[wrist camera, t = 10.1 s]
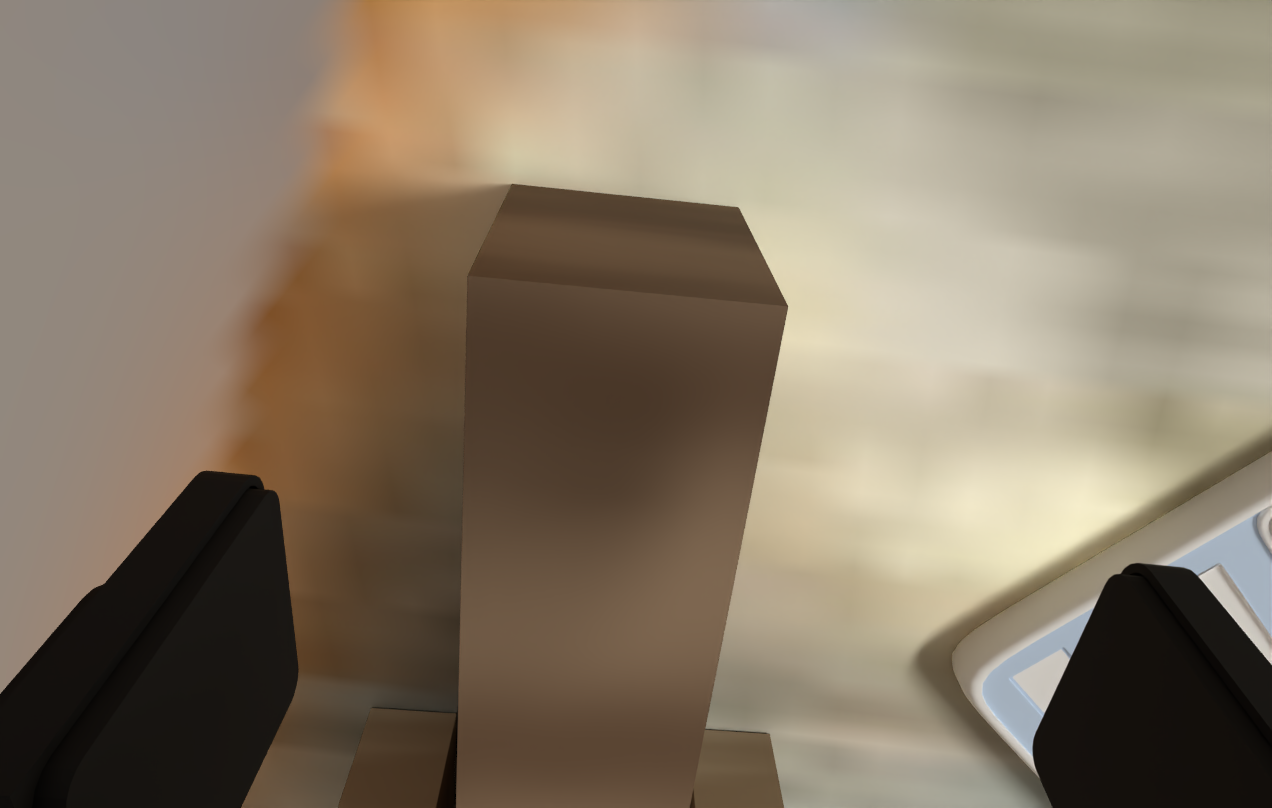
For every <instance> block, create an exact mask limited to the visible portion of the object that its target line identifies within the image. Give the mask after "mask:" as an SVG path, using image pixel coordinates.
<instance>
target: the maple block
mask: <svg viewBox="0 0 1272 808" xmlns="http://www.w3.org/2000/svg"><path fill="white" fill-rule="evenodd" d="M455 756H456V713H440V712H425V711H410V710H394V709H379V708H371V710H370V713H369V716H368V719H367V722H366V725H365V728H364V731H363V734H362V737H361V740H360V743H359V746H358V749H357V752H356V755H355V758H354V761H353V764H352V767H351V770H350V773H349V776H348V779H347V782H346V784H345V787H344V790H343V793H342V796H341V799H340V802H339V805H338V808H456V802H455ZM690 808H784V805H783V800H782V795H781V790H780V785H779V779H778V774H777V769H776V764H775V759H774V754H773V749H772V744H771V739H770V734H761V733H746V732H731V731H715V730H705V732H704V737H703V742H702V747H701V752H700V757H699V762H698V768H697V773H696V778H695V783H694V788H693V793H692V798H691V803H690Z"/></svg>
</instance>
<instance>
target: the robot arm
mask: <svg viewBox="0 0 1272 808" xmlns="http://www.w3.org/2000/svg"><path fill="white" fill-rule="evenodd" d="M297 680H298V660H297V651H296V642H295V633H294V625H293V616H292V607H291V599H290V590H289V581H288V573H287V564H286V555H285V546H284V538H283V529H282V520H281V512H280V503H279V498H278V495H277V493H276V492H275V491H273V490H264V486H263V483H262V481H261V479H260V478H259V477H257V476H255V475H245V474H235V473H225V472H215V471H203V472H200V473H199V474H198V475H197V476H195V477H194V479H193V480H192V481H191V482H190V483H189V484H188V486H187V487H186V488H185V489H184V490H183V492H182V493H181V494H180V495H179V496H178V497H177V499H176V500H175V501H174V502H173V503H172V505H171V506H170V507H169V508H168V509H167V510H166V512H165V513H164V514H163V515H162V516H161V518H160V519H159V520H158V521H157V522H156V523H155V525H154V526H153V527H152V528H151V529H150V531H149V532H148V533H147V534H146V535H145V537H144V538H143V539H142V540H141V541H140V542H139V544H138V545H137V546H136V547H135V548H134V549H133V551H132V552H131V553H130V554H129V555H128V557H127V558H126V559H125V560H124V561H123V563H122V564H121V565H120V566H119V567H118V568H117V570H116V571H115V572H114V573H113V574H112V575H111V577H110V578H109V579H108V580H107V581H106V583H105V584H103V585H101V586H98V587H96V588H94V589H93V590H91V591H90V592H89V593H88V594H87V595H86V596H85V597H84V598H83V599H82V600H81V601H80V602H79V603H78V604H77V606H76V607H75V608H74V609H73V610H72V611H71V612H70V614H69V615H68V616H67V617H66V618H65V619H64V621H63V622H62V623H61V624H60V625H59V627H57V629H56V630H55V631H54V632H53V633H52V634H51V636H50V637H49V638H48V639H47V640H46V641H45V643H44V644H43V645H42V646H41V647H40V648H39V650H38V651H37V652H36V653H35V654H34V655H33V657H32V658H31V659H30V660H29V661H28V662H27V664H26V665H25V666H24V667H23V668H22V669H21V671H20V672H19V673H18V674H17V675H16V676H15V678H14V679H13V680H12V681H11V682H10V683H9V685H8V686H7V687H6V688H5V689H4V690H3V691H2V693H1V694H0V808H241V806H242V804H243V802H244V800H245V798H246V796H247V794H248V792H249V789H250V787H251V785H252V783H253V781H254V779H255V777H256V775H257V773H258V771H259V768H260V766H261V764H262V762H263V760H264V758H265V756H266V754H267V752H268V750H269V747H270V745H271V743H272V741H273V739H274V737H275V735H276V733H277V731H278V729H279V726H280V724H281V722H282V720H283V718H284V716H285V714H286V712H287V710H288V708H289V705H290V703H291V701H292V699H293V696H294V693H295V689H296V685H297ZM1032 753H1033V761H1034V765H1035V768H1036V771H1037V773H1038V775H1039V778H1040V780H1041V782H1042V784H1043V787H1044V789H1045V791H1046V793H1047V796H1048V798H1049V800H1050V802H1051V805H1052V807H1053V808H1272V665H1271V663H1270V662H1269V661H1268V660H1267V659H1266V657H1265V656H1264V655H1263V654H1262V653H1261V651H1260V650H1259V649H1258V648H1257V647H1256V645H1255V644H1254V643H1253V642H1252V641H1251V639H1250V638H1249V637H1248V636H1247V635H1246V633H1245V632H1244V631H1243V630H1242V628H1241V627H1240V626H1239V625H1238V624H1237V622H1236V621H1235V620H1234V619H1233V618H1232V616H1231V615H1230V614H1229V613H1228V612H1227V610H1226V609H1225V608H1224V607H1223V606H1222V604H1221V603H1220V602H1219V601H1218V599H1217V598H1216V597H1215V596H1214V595H1213V593H1212V592H1211V591H1210V590H1209V589H1208V587H1207V586H1206V585H1205V584H1204V583H1203V581H1202V580H1201V579H1200V578H1199V577H1198V576H1197V575H1196V574H1195V573H1194V572H1193V571H1192V570H1190V569H1187V568H1184V567H1174V566H1164V565H1154V564H1144V563H1133V564H1130V565H1128V566H1127V567H1125V568H1124V569H1123V571H1122V572H1121V574H1115V575H1113V576H1111V577H1110V578H1109V579H1108V580H1107V582H1106V584H1105V585H1104V588H1103V590H1102V592H1101V594H1100V596H1099V598H1098V600H1097V603H1096V605H1095V607H1094V609H1093V611H1092V613H1091V615H1090V618H1089V620H1088V622H1087V624H1086V626H1085V628H1084V630H1083V632H1082V635H1081V637H1080V639H1079V641H1078V643H1077V645H1076V647H1075V650H1074V652H1073V654H1072V656H1071V658H1070V660H1069V662H1068V664H1067V667H1066V669H1065V671H1064V673H1063V675H1062V677H1061V679H1060V682H1059V684H1058V686H1057V688H1056V690H1055V692H1054V694H1053V697H1052V699H1051V701H1050V703H1049V705H1048V707H1047V709H1046V711H1045V714H1044V716H1043V718H1042V720H1041V722H1040V724H1039V726H1038V729H1037V731H1036V733H1035V736H1034V739H1033V745H1032Z"/></svg>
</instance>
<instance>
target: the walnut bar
mask: <svg viewBox="0 0 1272 808" xmlns="http://www.w3.org/2000/svg"><path fill="white" fill-rule="evenodd" d="M787 310H788V305H787V303H786V301H785V299H784V297H783V295H782V293H781V291H780V289H779V287H778V285H777V283H776V281H775V279H774V277H773V275H772V273H771V271H770V269H769V267H768V265H767V263H766V261H765V259H764V257H763V255H762V253H761V251H760V249H759V247H758V245H757V243H756V241H755V239H754V237H753V235H752V233H751V231H750V229H749V227H748V225H747V223H746V221H745V219H744V217H743V215H742V213H741V211H740V209H739V208H738V207H729V206H719V205H710V204H700V203H690V202H681V201H671V200H661V199H652V198H642V197H632V196H623V195H613V194H603V193H594V192H584V191H575V190H565V189H555V188H546V187H536V186H526V185H517V184H512V185H511V187H510V190H509V192H508V194H507V196H506V198H505V200H504V202H503V204H502V206H501V208H500V210H499V212H498V214H497V216H496V218H495V220H494V223H493V225H492V227H491V229H490V231H489V233H488V235H487V237H486V239H485V241H484V243H483V245H482V247H481V249H480V251H479V253H478V255H477V258H476V260H475V262H474V264H473V266H472V268H471V270H470V272H469V274H468V284H467V330H466V375H465V421H464V466H463V511H462V557H461V602H460V648H459V693H458V739H457V784H456V808H690V803H691V798H692V793H693V788H694V783H695V778H696V773H697V768H698V762H699V757H700V752H701V747H702V742H703V737H704V732H705V727H706V722H707V717H708V712H709V707H710V701H711V696H712V691H713V686H714V681H715V676H716V671H717V666H718V661H719V656H720V651H721V646H722V640H723V635H724V630H725V625H726V620H727V615H728V610H729V605H730V600H731V595H732V590H733V584H734V579H735V574H736V569H737V564H738V559H739V554H740V549H741V544H742V539H743V534H744V529H745V523H746V518H747V513H748V508H749V503H750V498H751V493H752V488H753V483H754V478H755V473H756V468H757V462H758V457H759V452H760V447H761V442H762V437H763V432H764V427H765V422H766V417H767V412H768V406H769V401H770V396H771V391H772V386H773V381H774V376H775V371H776V366H777V361H778V356H779V351H780V345H781V340H782V335H783V330H784V325H785V320H786V315H787Z"/></svg>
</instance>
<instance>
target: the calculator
mask: <svg viewBox="0 0 1272 808" xmlns="http://www.w3.org/2000/svg"><path fill="white" fill-rule="evenodd" d="M1133 563H1144V564H1154V565H1164V566H1174V567H1184V568H1187V569H1190V570H1192V571H1193V572H1194V573H1195V574H1196V575H1197V576H1198V577H1199V578H1200V579H1201V580H1202V581H1203V583H1204V584H1205V585H1206V586H1207V587H1208V589H1209V590H1210V591H1211V592H1212V593H1213V595H1214V596H1215V597H1216V598H1217V599H1218V601H1219V602H1220V603H1221V604H1222V606H1223V607H1224V608H1225V609H1226V610H1227V612H1228V613H1229V614H1230V615H1231V616H1232V618H1233V619H1234V620H1235V621H1236V622H1237V624H1238V625H1239V626H1240V627H1241V628H1242V630H1243V631H1244V632H1245V633H1246V635H1247V636H1248V637H1249V638H1250V639H1251V641H1252V642H1253V643H1254V644H1255V645H1256V647H1257V648H1258V649H1259V650H1260V651H1261V653H1262V654H1263V655H1264V656H1265V657H1266V659H1267V660H1268V661H1269V662H1270V663H1271V665H1272V451H1271V452H1269V453H1267V454H1266V455H1264V456H1262V457H1261V458H1259V459H1257V460H1256V461H1254V462H1252V463H1251V464H1249V465H1247V466H1246V467H1244V468H1242V469H1241V470H1239V471H1237V472H1235V473H1234V474H1232V475H1230V476H1229V477H1227V478H1225V479H1224V480H1222V481H1220V482H1219V483H1217V484H1215V485H1214V486H1212V487H1210V488H1209V489H1207V490H1205V491H1203V492H1202V493H1200V494H1198V495H1197V496H1195V497H1193V498H1192V499H1190V500H1188V501H1187V502H1185V503H1183V504H1182V505H1180V506H1178V507H1177V508H1175V509H1173V510H1172V511H1170V512H1168V513H1166V514H1165V515H1163V516H1161V517H1160V518H1158V519H1156V520H1155V521H1153V522H1151V523H1150V524H1148V525H1146V526H1145V527H1143V528H1141V529H1140V530H1138V531H1136V532H1135V533H1133V534H1131V535H1129V536H1128V537H1126V538H1124V539H1123V540H1121V541H1119V542H1118V543H1116V544H1114V545H1113V546H1111V547H1109V548H1108V549H1106V550H1104V551H1103V552H1101V553H1099V554H1097V555H1096V556H1094V557H1092V558H1091V559H1089V560H1087V561H1086V562H1084V563H1082V564H1081V565H1079V566H1077V567H1076V568H1074V569H1072V570H1071V571H1069V572H1067V573H1066V574H1064V575H1062V576H1060V577H1059V578H1057V579H1055V580H1054V581H1052V582H1050V583H1049V584H1047V585H1045V586H1044V587H1042V588H1040V589H1039V590H1037V591H1035V592H1034V593H1032V594H1030V595H1029V596H1027V597H1025V598H1024V599H1022V600H1020V601H1019V602H1017V603H1015V604H1014V605H1012V606H1010V607H1009V608H1007V609H1005V610H1004V611H1002V612H1000V613H999V614H997V615H996V616H994V617H993V618H991V619H990V620H988V621H986V622H985V623H983V624H982V625H980V626H979V627H977V628H976V629H975V630H973V631H972V632H971V633H970V634H968V635H967V636H966V637H965V638H964V639H962V640H961V641H960V642H959V644H958V645H957V647H956V648H955V650H954V651H953V653H952V667H953V671H954V674H955V676H956V678H957V680H958V682H959V684H960V686H961V689H962V691H963V693H964V694H965V696H966V697H967V698H968V700H969V701H970V702H971V704H972V705H973V706H974V708H975V709H976V710H977V711H978V713H979V714H980V715H981V716H982V717H983V718H984V719H985V721H986V722H987V723H988V724H989V725H990V726H991V727H992V728H993V729H994V730H995V731H996V732H997V734H998V735H999V736H1000V737H1001V738H1002V739H1003V740H1004V741H1005V742H1006V743H1007V744H1008V745H1009V746H1010V747H1011V749H1012V750H1013V751H1014V752H1015V753H1016V754H1017V755H1018V756H1019V757H1020V758H1021V759H1022V760H1023V761H1024V762H1025V764H1026V765H1027V766H1028V767H1029V768H1030V769H1031V770H1032V771H1033V772H1034V773H1035V774H1036V775H1037V776H1038V778H1039V775H1038V773H1037V771H1036V768H1035V765H1034V761H1033V753H1032V745H1033V739H1034V736H1035V733H1036V731H1037V729H1038V726H1039V724H1040V722H1041V720H1042V718H1043V716H1044V714H1045V711H1046V709H1047V707H1048V705H1049V703H1050V701H1051V699H1052V697H1053V694H1054V692H1055V690H1056V688H1057V686H1058V684H1059V682H1060V679H1061V677H1062V675H1063V673H1064V671H1065V669H1066V667H1067V664H1068V662H1069V660H1070V658H1071V656H1072V654H1073V652H1074V650H1075V647H1076V645H1077V643H1078V641H1079V639H1080V637H1081V635H1082V632H1083V630H1084V628H1085V626H1086V624H1087V622H1088V620H1089V618H1090V615H1091V613H1092V611H1093V609H1094V607H1095V605H1096V603H1097V600H1098V598H1099V596H1100V594H1101V592H1102V590H1103V588H1104V585H1105V584H1106V582H1107V580H1108V579H1109V578H1110V577H1111V576H1113V575H1115V574H1121V572H1122V571H1123V569H1124V568H1125V567H1127V566H1128V565H1130V564H1133ZM1039 779H1040V778H1039Z"/></svg>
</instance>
